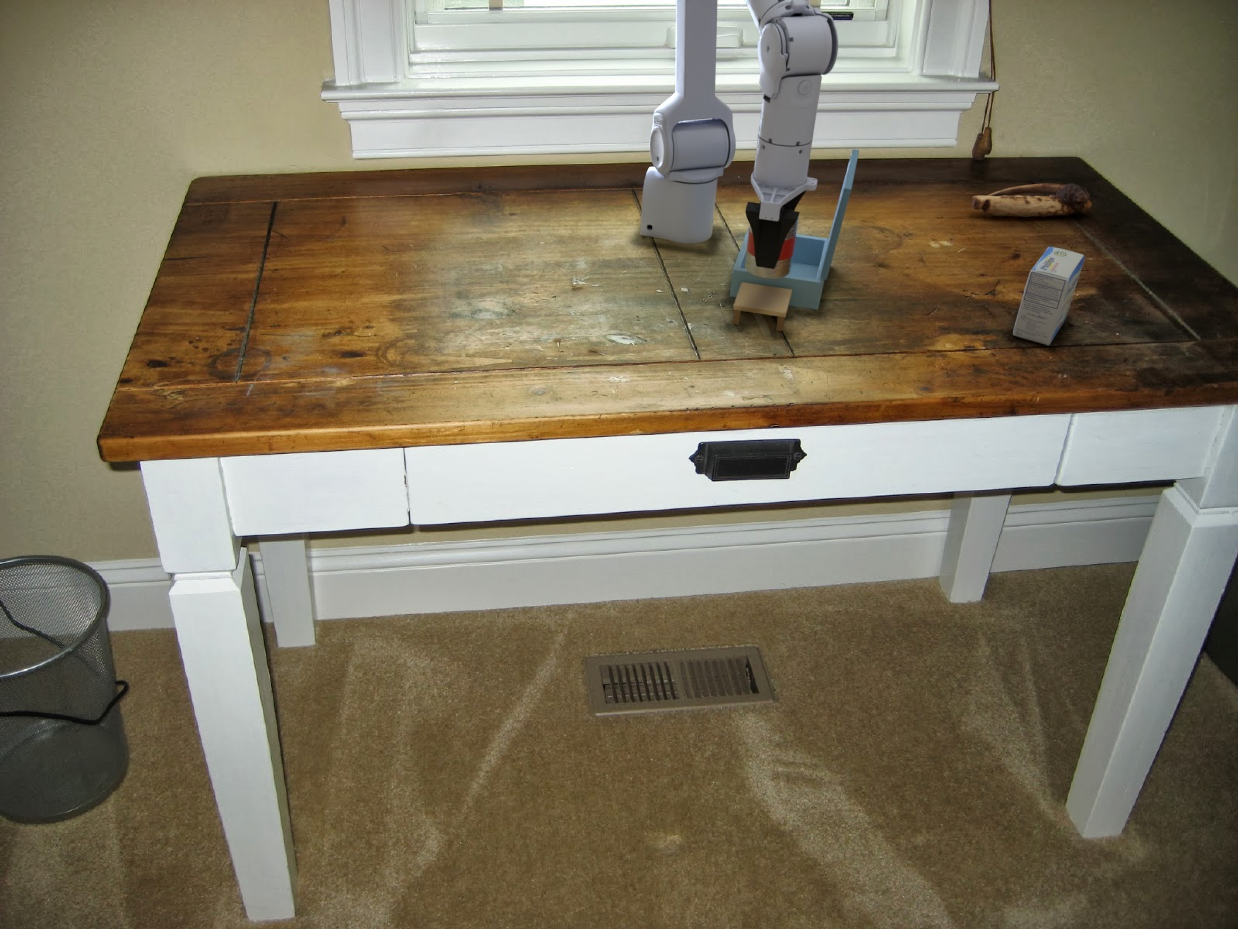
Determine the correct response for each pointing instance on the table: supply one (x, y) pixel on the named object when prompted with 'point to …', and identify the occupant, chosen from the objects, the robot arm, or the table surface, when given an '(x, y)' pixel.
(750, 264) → the can
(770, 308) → the stool
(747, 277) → the cooler
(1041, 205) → the lashed bone hook
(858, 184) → the table surface
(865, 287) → the table surface
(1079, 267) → the medicine box
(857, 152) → the lid
